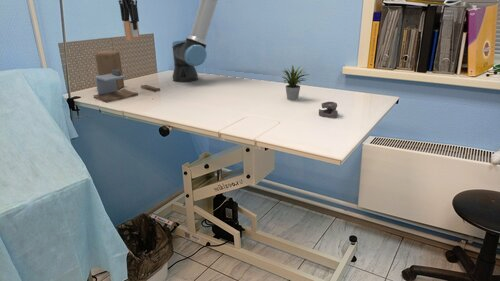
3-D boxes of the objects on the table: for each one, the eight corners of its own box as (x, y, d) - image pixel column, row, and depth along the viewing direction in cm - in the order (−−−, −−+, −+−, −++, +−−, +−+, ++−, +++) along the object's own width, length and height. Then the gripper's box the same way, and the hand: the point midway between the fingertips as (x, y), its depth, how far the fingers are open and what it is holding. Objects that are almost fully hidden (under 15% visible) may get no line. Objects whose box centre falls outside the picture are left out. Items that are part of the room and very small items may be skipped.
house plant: (294, 105, 163) (295, 69, 157) (271, 100, 172) (271, 65, 166) (312, 99, 173) (314, 64, 167) (289, 94, 182) (290, 61, 176)
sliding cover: (116, 90, 190) (112, 68, 185) (128, 94, 182) (124, 71, 177) (98, 94, 183) (93, 71, 178) (109, 98, 175) (105, 74, 171)
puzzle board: (145, 86, 203) (145, 84, 202) (159, 90, 194) (159, 88, 193) (93, 97, 183) (93, 95, 182) (106, 102, 174) (106, 100, 173)
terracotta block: (134, 39, 186) (132, 20, 183) (139, 39, 183) (137, 21, 179) (125, 40, 183) (123, 21, 179) (130, 40, 180) (128, 21, 176)
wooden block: (118, 90, 196) (112, 53, 188) (100, 90, 196) (93, 53, 188) (125, 86, 205) (119, 50, 197) (107, 86, 205) (101, 50, 198)
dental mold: (342, 115, 150) (343, 103, 148) (334, 119, 145) (335, 107, 143) (324, 111, 154) (325, 100, 152) (316, 115, 149) (317, 104, 148)
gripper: (109, -14, 177) (116, 35, 185) (127, -15, 165) (135, 38, 174) (123, -14, 182) (130, 34, 190) (142, -15, 170) (148, 36, 179)
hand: (132, 36), depth 182 cm, fingers closed on terracotta block, 5 cm apart
